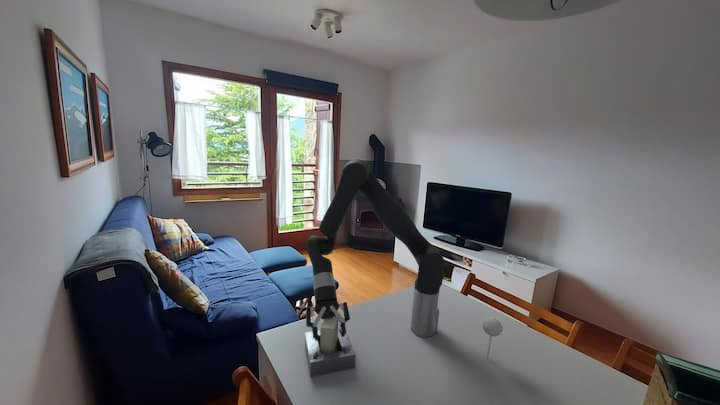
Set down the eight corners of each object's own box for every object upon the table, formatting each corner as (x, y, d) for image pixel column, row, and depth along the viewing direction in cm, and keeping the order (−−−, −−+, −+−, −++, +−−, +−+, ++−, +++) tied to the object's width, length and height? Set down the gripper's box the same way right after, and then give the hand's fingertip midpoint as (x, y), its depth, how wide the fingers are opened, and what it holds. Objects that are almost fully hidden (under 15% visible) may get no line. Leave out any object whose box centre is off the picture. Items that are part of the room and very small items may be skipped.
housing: (344, 338, 100) (344, 325, 99) (354, 368, 87) (355, 353, 86) (304, 345, 96) (305, 331, 95) (310, 377, 83) (310, 361, 82)
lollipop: (496, 355, 96) (502, 316, 93) (498, 367, 90) (505, 326, 87) (476, 350, 98) (482, 311, 95) (478, 361, 92) (484, 321, 89)
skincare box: (332, 364, 88) (333, 330, 86) (319, 361, 89) (320, 327, 87) (337, 350, 94) (339, 318, 92) (325, 348, 95) (326, 316, 93)
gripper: (305, 286, 92) (309, 340, 83) (346, 282, 96) (354, 332, 88) (303, 293, 98) (306, 343, 89) (342, 289, 102) (349, 336, 94)
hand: (330, 338), depth 89 cm, fingers open, 8 cm apart
